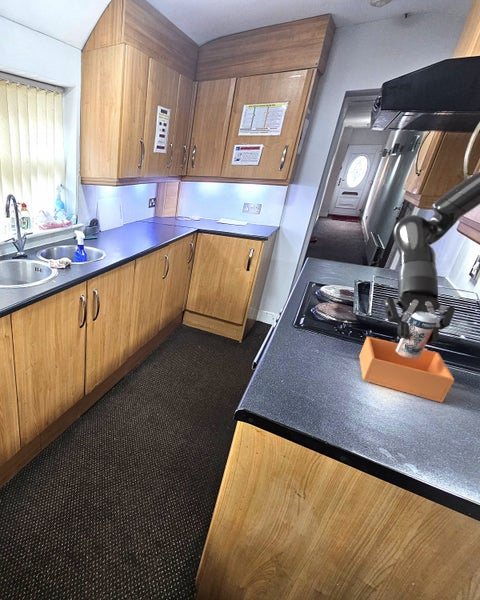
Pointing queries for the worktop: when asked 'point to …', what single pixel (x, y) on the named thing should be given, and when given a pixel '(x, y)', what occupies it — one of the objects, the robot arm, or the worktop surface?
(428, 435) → the worktop surface
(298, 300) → the worktop surface
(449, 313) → the robot arm
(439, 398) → the tote
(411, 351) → the beer can
